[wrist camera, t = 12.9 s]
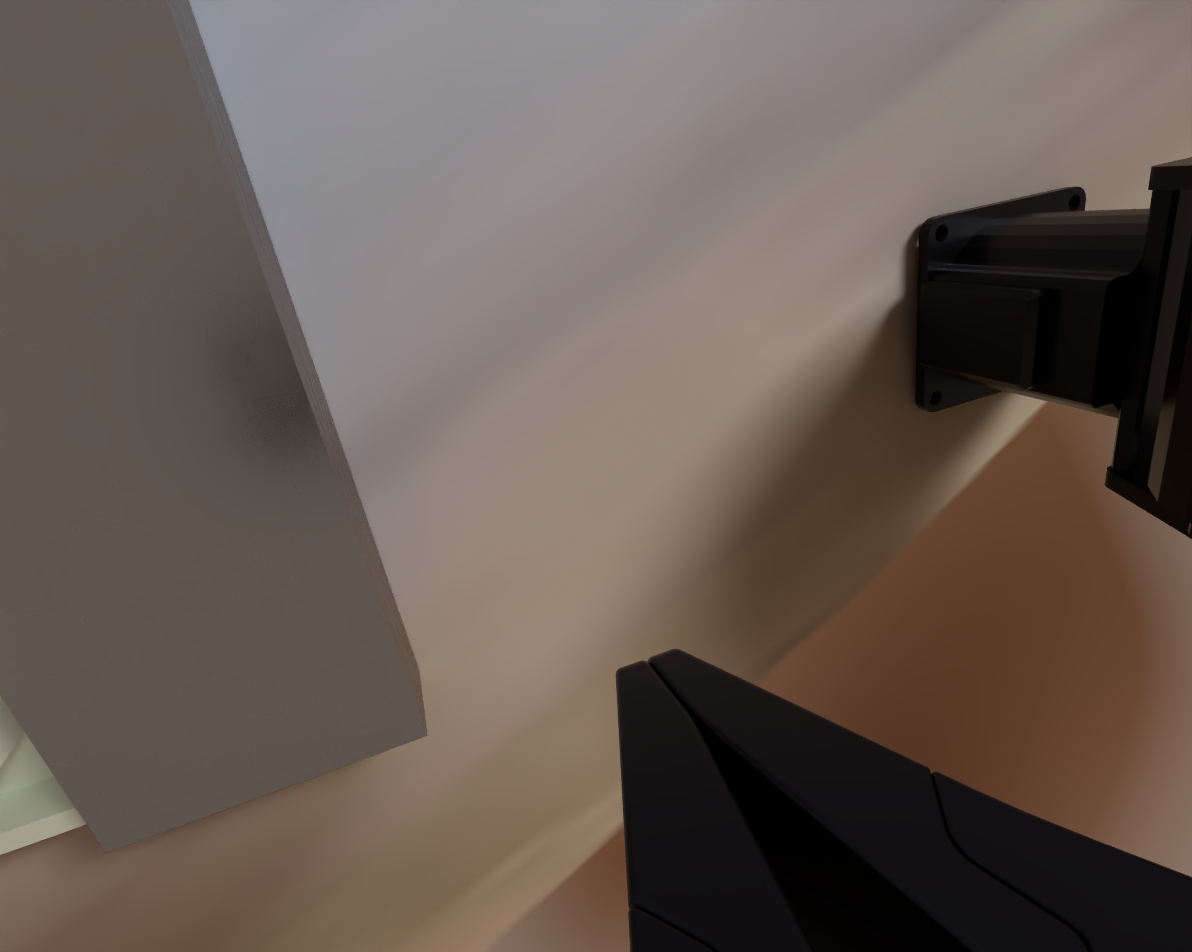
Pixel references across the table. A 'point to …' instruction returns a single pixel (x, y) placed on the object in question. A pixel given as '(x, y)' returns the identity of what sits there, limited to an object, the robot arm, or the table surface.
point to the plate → (167, 449)
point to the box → (31, 800)
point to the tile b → (8, 731)
